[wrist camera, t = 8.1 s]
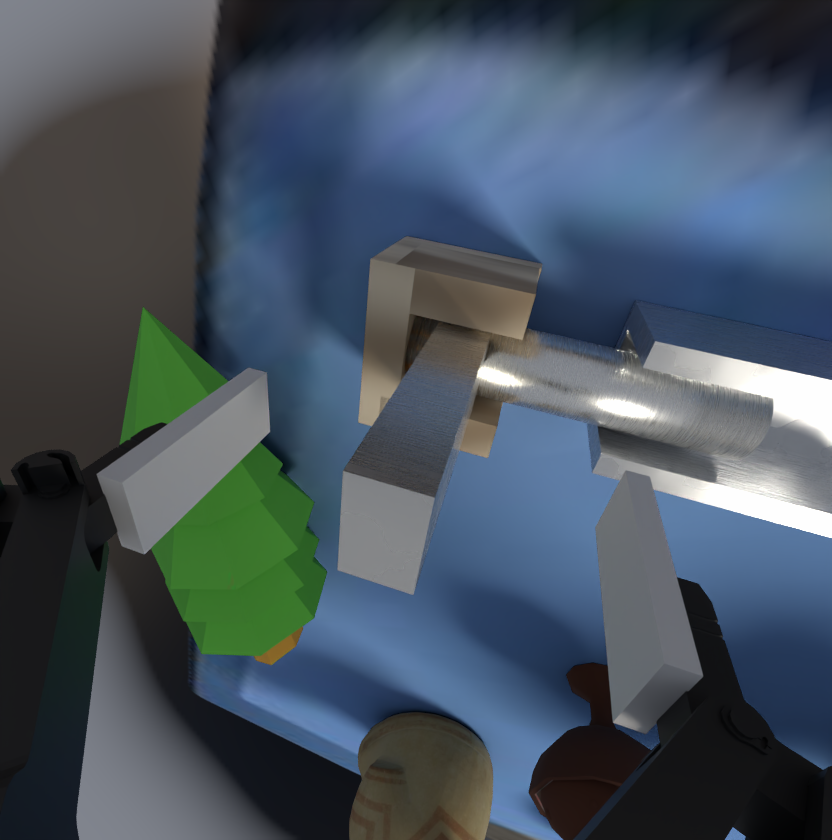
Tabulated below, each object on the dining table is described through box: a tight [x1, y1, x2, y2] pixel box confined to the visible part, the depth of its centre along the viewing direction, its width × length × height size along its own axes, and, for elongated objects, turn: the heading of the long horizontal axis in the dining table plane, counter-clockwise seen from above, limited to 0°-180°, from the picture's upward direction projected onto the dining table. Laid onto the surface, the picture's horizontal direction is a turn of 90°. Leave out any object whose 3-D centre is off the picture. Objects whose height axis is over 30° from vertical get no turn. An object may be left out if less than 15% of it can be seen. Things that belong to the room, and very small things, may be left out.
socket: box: [358, 236, 542, 458], centre depth 23 cm, size 9×7×6 cm
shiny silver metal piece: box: [338, 315, 774, 595], centre depth 17 cm, size 4×16×15 cm, turn 82°
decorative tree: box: [120, 307, 327, 665], centre depth 31 cm, size 11×12×30 cm
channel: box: [587, 300, 832, 538], centre depth 21 cm, size 7×14×6 cm, turn 82°
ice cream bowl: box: [529, 663, 651, 840], centre depth 33 cm, size 11×11×15 cm
